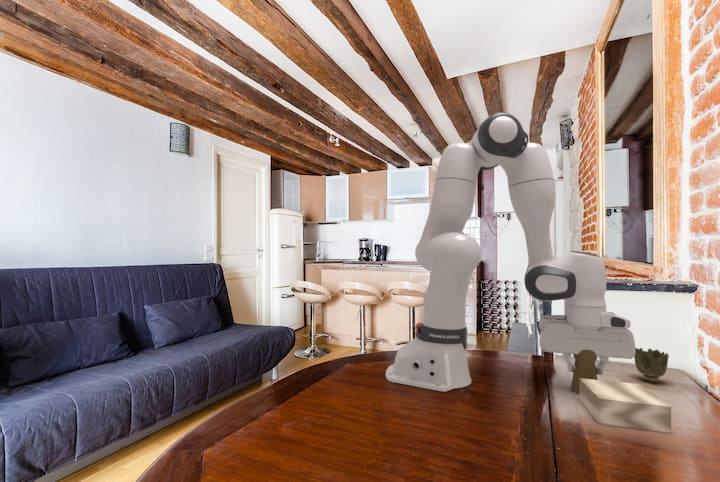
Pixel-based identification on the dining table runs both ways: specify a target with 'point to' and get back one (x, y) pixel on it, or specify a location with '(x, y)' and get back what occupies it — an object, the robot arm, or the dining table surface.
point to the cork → (584, 368)
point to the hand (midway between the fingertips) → (584, 372)
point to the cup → (651, 364)
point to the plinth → (624, 405)
